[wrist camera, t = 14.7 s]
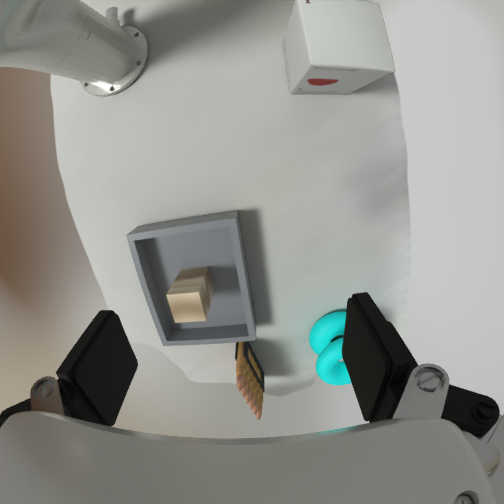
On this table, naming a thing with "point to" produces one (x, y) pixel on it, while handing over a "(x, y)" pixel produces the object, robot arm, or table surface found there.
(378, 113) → the table surface
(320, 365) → the donuts
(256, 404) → the ammunition clip
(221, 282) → the tray
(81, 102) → the table surface
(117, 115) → the table surface
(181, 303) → the birch block
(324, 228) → the table surface
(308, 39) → the supplement box
